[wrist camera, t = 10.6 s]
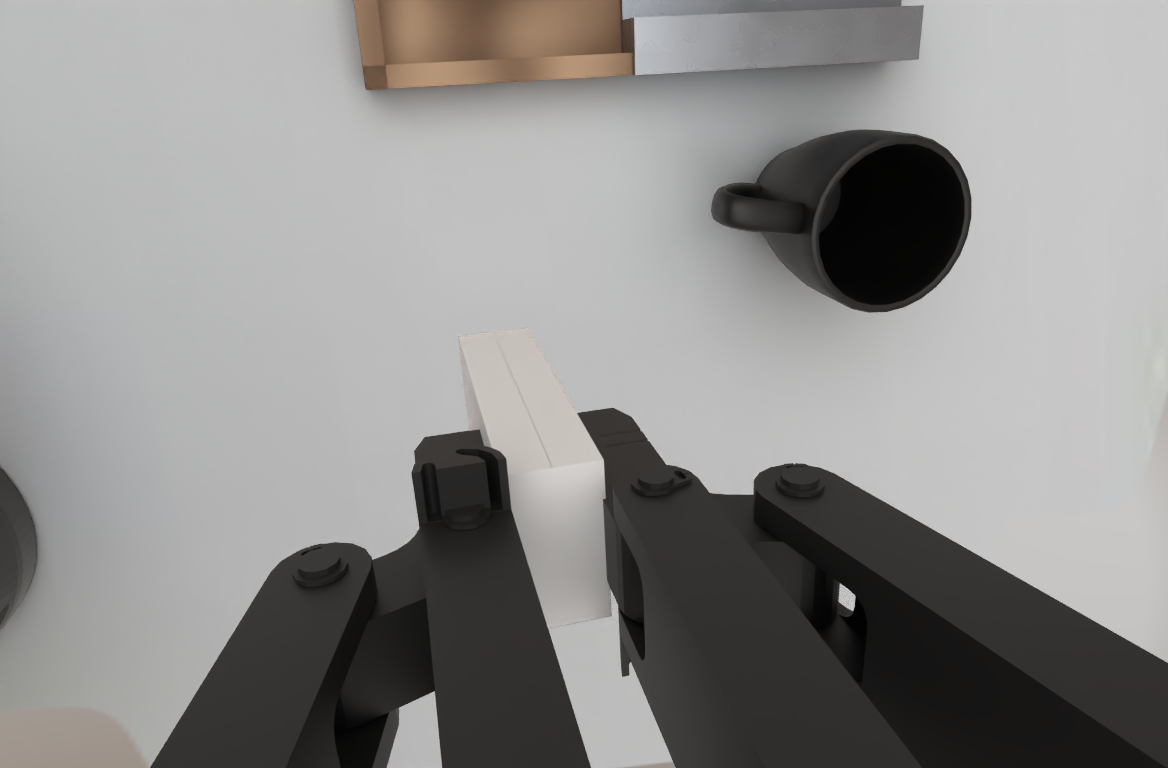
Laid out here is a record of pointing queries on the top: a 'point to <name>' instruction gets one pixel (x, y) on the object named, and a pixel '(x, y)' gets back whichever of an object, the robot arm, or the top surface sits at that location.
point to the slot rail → (765, 33)
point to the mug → (858, 215)
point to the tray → (487, 41)
